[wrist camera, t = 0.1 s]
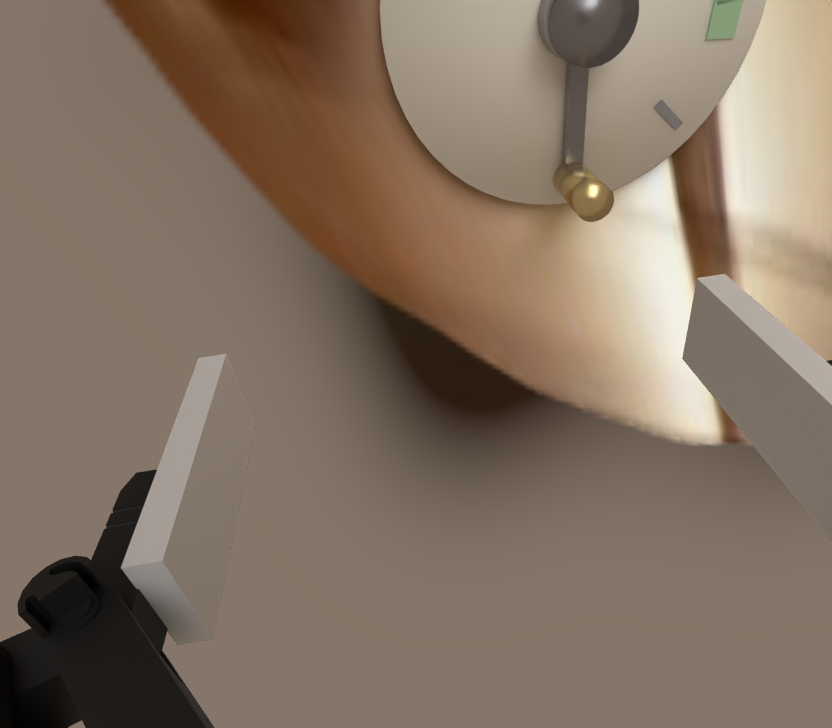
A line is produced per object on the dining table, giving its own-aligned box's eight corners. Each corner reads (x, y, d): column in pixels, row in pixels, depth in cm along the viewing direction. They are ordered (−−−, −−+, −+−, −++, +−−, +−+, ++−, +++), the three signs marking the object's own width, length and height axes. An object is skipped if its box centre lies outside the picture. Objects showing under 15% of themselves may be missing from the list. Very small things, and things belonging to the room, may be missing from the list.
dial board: (347, -234, 29) (346, -241, 28) (815, -295, 29) (834, -305, 28) (404, 219, 43) (405, 226, 42) (719, 175, 43) (729, 181, 42)
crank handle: (538, -30, 33) (565, -28, 29) (623, -42, 33) (662, -41, 29) (534, 198, 41) (555, 226, 37) (603, 189, 41) (631, 216, 37)
